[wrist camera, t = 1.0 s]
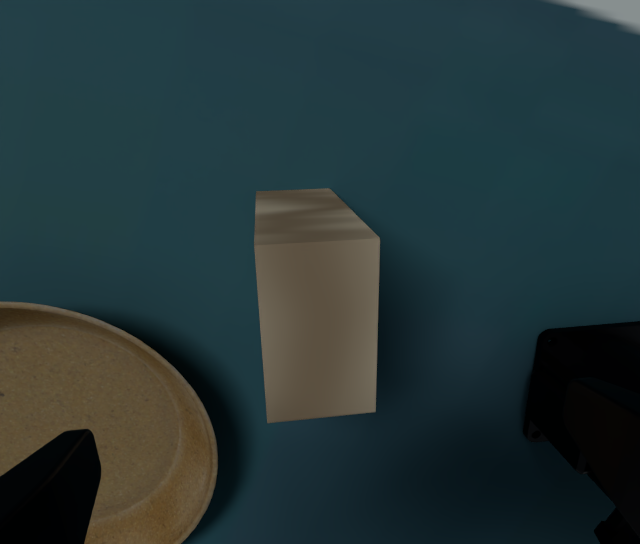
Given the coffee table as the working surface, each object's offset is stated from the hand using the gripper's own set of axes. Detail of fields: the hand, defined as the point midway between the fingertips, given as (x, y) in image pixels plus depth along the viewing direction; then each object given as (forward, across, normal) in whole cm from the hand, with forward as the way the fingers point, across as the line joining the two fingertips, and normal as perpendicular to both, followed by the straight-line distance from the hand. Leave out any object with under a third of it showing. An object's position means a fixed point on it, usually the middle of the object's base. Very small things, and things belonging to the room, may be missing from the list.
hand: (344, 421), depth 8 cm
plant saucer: (+12, +11, +8) cm, 18 cm away
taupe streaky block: (+11, 0, 0) cm, 11 cm away
